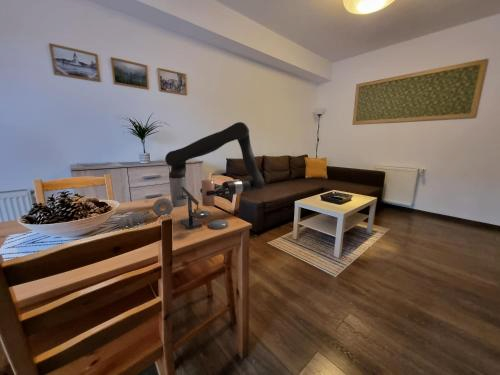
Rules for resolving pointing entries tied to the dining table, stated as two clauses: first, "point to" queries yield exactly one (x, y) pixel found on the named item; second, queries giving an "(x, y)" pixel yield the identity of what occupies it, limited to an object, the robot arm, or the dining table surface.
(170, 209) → the donut
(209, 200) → the tan round cylinder
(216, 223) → the dish low side
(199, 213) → the balance
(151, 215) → the bunny figurine
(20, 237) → the dining table surface
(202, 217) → the dish high side
